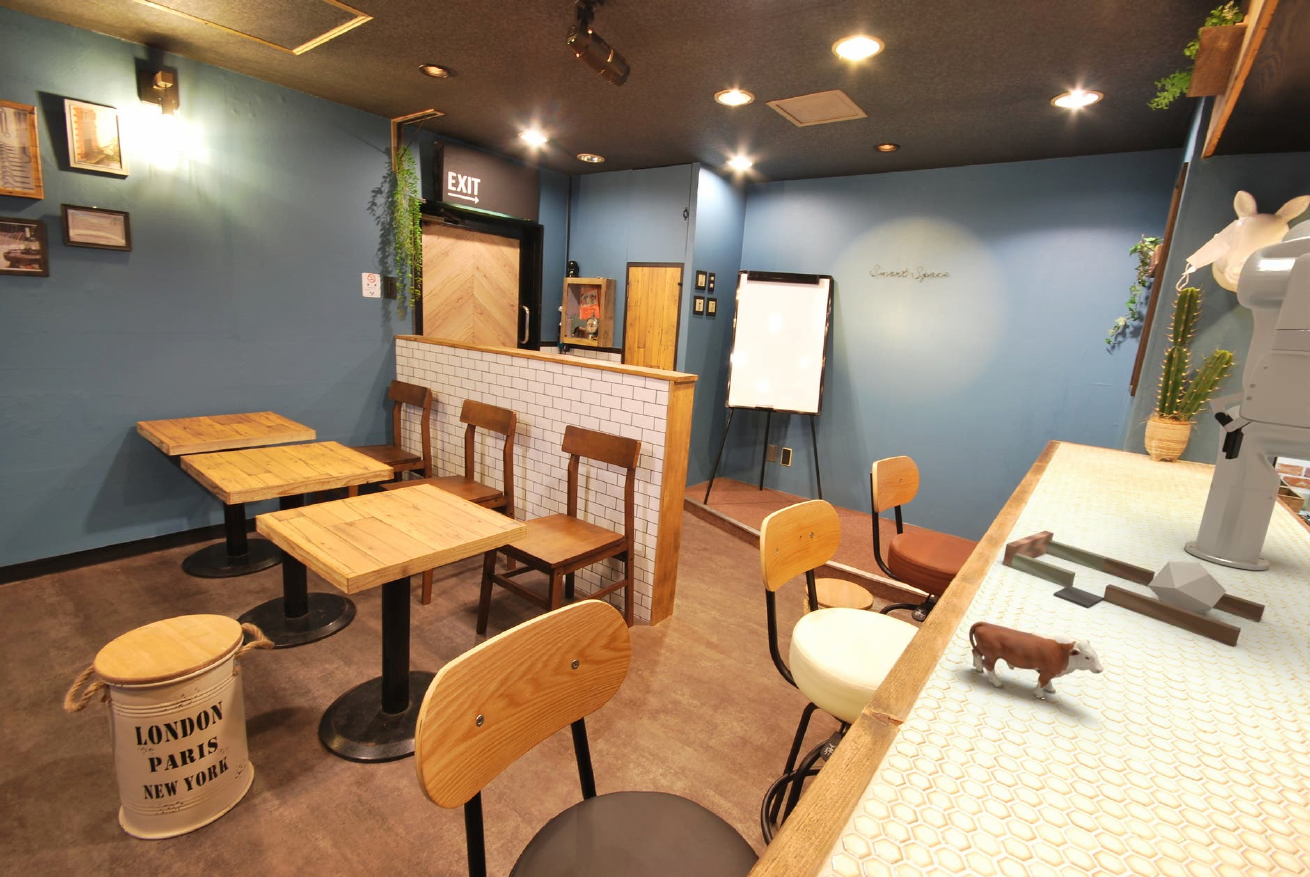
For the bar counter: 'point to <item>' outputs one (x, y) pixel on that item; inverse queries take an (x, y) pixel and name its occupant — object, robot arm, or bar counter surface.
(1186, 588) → the die
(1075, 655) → the bull figurine
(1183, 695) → the bar counter surface
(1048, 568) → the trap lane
